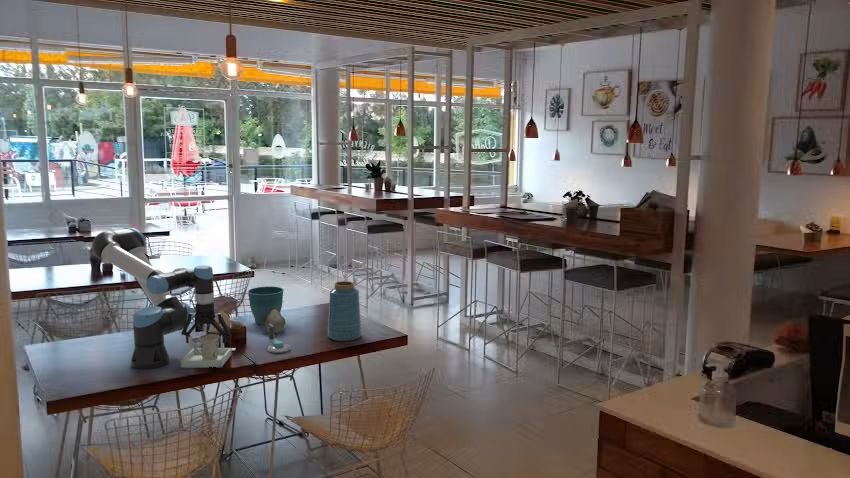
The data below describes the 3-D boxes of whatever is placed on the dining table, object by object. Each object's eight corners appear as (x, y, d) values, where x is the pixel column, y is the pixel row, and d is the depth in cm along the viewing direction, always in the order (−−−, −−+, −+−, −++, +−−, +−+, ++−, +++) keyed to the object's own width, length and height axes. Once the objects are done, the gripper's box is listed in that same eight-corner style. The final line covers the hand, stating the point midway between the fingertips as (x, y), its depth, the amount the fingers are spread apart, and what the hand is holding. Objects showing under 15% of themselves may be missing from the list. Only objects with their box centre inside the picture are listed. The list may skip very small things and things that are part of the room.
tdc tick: (226, 350, 300) (226, 349, 300) (228, 349, 302) (228, 348, 302) (234, 350, 300) (234, 349, 300) (235, 349, 302) (235, 348, 302)
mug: (212, 363, 281) (211, 340, 280) (187, 360, 285) (186, 337, 283) (224, 357, 289) (223, 335, 288) (199, 354, 293) (198, 332, 291)
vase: (367, 338, 320) (367, 284, 316) (337, 344, 311) (336, 288, 307) (351, 330, 334) (351, 278, 329) (322, 335, 324) (321, 282, 320)
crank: (285, 347, 301) (284, 331, 300) (275, 348, 298) (275, 332, 297) (274, 338, 313) (274, 323, 312) (265, 340, 311) (264, 324, 310)
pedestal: (265, 353, 297) (265, 350, 296) (270, 346, 306) (270, 343, 306) (288, 353, 297) (288, 350, 297) (291, 346, 307) (291, 343, 307)
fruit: (284, 328, 335) (284, 305, 333) (286, 333, 326) (286, 310, 325) (263, 330, 332) (263, 306, 330) (265, 335, 323) (265, 311, 321)
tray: (180, 367, 277) (180, 360, 277) (193, 354, 294) (193, 348, 294) (221, 367, 278) (221, 360, 278) (231, 354, 295) (231, 348, 294)
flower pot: (265, 328, 334) (265, 296, 332) (241, 323, 344) (240, 291, 341) (291, 320, 349) (290, 289, 347) (267, 315, 359) (266, 284, 356)
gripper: (172, 304, 278) (174, 353, 281) (232, 304, 279) (233, 353, 282) (178, 300, 285) (180, 347, 289) (236, 300, 286) (238, 347, 289)
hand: (206, 350), depth 285 cm, fingers open, 13 cm apart
